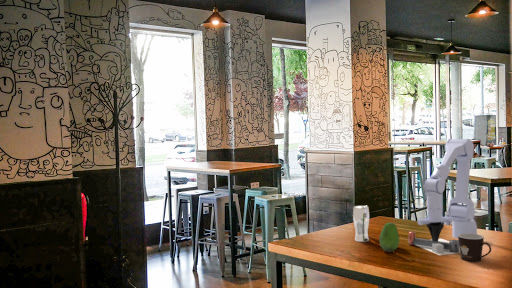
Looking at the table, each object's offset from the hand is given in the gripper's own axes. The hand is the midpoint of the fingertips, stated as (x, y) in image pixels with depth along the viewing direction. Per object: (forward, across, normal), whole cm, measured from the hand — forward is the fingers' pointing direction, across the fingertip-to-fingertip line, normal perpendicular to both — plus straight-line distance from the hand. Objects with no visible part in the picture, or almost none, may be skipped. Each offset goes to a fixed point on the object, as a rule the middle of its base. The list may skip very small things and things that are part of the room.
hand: (435, 240), depth 199 cm
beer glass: (+3, +21, -24) cm, 32 cm away
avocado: (+3, +19, -3) cm, 20 cm away
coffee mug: (+3, 0, +23) cm, 23 cm away
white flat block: (+3, -1, +2) cm, 4 cm away
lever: (+1, +3, +4) cm, 5 cm away
